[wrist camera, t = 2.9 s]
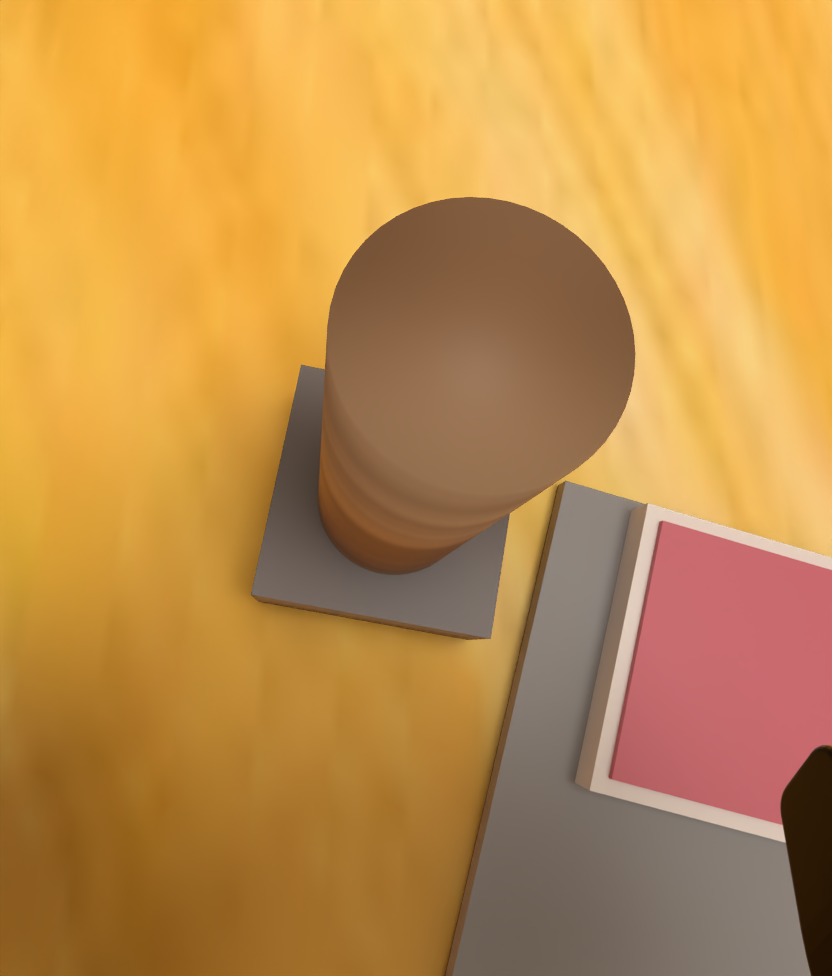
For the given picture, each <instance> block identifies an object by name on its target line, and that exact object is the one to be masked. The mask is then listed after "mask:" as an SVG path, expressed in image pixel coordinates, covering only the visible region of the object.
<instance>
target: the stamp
mask: <svg viewBox="0 0 832 976" xmlns="http://www.w3.org/2000/svg"><path fill="white" fill-rule="evenodd" d="M634 367H635V345H634V334H633V329H632V324H631V320H630V316H629V313H628V310H627V307H626V304H625V301H624V298H623V296H622V294H621V292H620V290H619V288H618V286H617V284H616V282H615V280H614V279H613V277H612V276H611V274H610V273H609V271H608V270H607V268H606V266H605V265H604V264H603V263H602V261H601V260H600V259H599V258H598V257H597V255H596V254H595V253H594V252H593V251H592V250H591V249H590V248H589V247H588V246H587V245H586V244H585V243H584V242H583V241H582V240H581V239H580V238H579V237H578V236H576V235H575V234H574V233H572V232H571V231H570V230H568V229H567V228H566V227H564V226H563V225H561V224H560V223H558V222H556V221H555V220H553V219H551V218H549V217H548V216H546V215H544V214H542V213H539V212H537V211H535V210H532V209H530V208H528V207H525V206H521V205H518V204H515V203H511V202H508V201H502V200H496V199H491V198H476V197H465V198H450V199H445V200H440V201H435V202H431V203H428V204H425V205H422V206H419V207H416V208H413V209H411V210H409V211H407V212H405V213H403V214H400V215H398V216H396V217H395V218H393V219H392V220H390V221H389V222H387V223H386V224H384V225H383V226H381V227H380V228H379V229H378V230H377V231H375V232H374V233H373V234H372V235H371V236H370V237H369V238H367V239H366V240H365V242H364V243H363V244H362V245H361V246H360V247H359V249H358V250H357V251H356V252H355V253H354V255H353V256H352V258H351V259H350V261H349V262H348V264H347V266H346V267H345V269H344V270H343V273H342V275H341V277H340V279H339V281H338V284H337V286H336V288H335V292H334V295H333V299H332V302H331V306H330V312H329V319H328V327H327V345H326V363H325V370H324V369H319V368H314V367H310V366H305V365H301V368H300V373H299V377H298V382H297V386H296V391H295V396H294V400H293V405H292V409H291V414H290V418H289V423H288V428H287V432H286V437H285V441H284V446H283V450H282V455H281V460H280V464H279V469H278V473H277V478H276V482H275V487H274V492H273V496H272V501H271V505H270V510H269V514H268V519H267V524H266V528H265V533H264V537H263V542H262V546H261V551H260V556H259V560H258V565H257V569H256V574H255V578H254V583H253V588H252V592H251V595H252V596H253V597H254V598H255V599H257V600H258V601H259V602H265V603H270V604H275V605H281V606H286V607H292V608H297V609H303V610H308V611H314V612H319V613H325V614H330V615H335V616H341V617H346V618H352V619H357V620H363V621H368V622H374V623H379V624H384V625H390V626H395V627H401V628H406V629H412V630H417V631H423V632H428V633H434V634H439V635H444V636H450V637H455V638H461V639H466V640H472V639H491V633H492V626H493V620H494V613H495V606H496V600H497V593H498V587H499V580H500V574H501V567H502V560H503V554H504V547H505V541H506V534H507V527H508V521H509V514H510V513H511V512H512V511H514V510H515V509H517V508H518V507H520V506H521V505H523V504H524V503H526V502H527V501H529V500H530V499H532V498H533V497H535V496H536V495H538V494H539V493H541V492H542V491H544V490H545V489H547V488H548V487H550V486H551V485H553V484H554V483H556V482H557V481H558V480H560V479H561V478H563V477H564V476H566V475H567V474H569V473H570V472H572V471H573V470H575V469H576V468H578V467H579V466H580V465H581V464H583V463H584V462H585V461H586V460H588V459H589V458H590V457H591V456H592V455H593V454H594V453H595V452H596V451H597V450H598V449H599V448H600V447H601V446H602V445H603V444H604V443H605V441H606V440H607V438H608V437H609V436H610V434H611V433H612V431H613V430H614V428H615V427H616V425H617V423H618V421H619V419H620V417H621V415H622V413H623V411H624V409H625V407H626V404H627V401H628V398H629V395H630V392H631V387H632V382H633V377H634Z"/></svg>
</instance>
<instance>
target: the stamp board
mask: <svg viewBox="0 0 832 976" xmlns="http://www.w3.org/2000/svg"><path fill="white" fill-rule="evenodd" d="M821 745H831V746H832V557H828V556H825V555H821V554H818V553H815V552H811V551H808V550H804V549H801V548H798V547H794V546H791V545H788V544H784V543H781V542H777V541H774V540H771V539H767V538H764V537H760V536H757V535H754V534H750V533H747V532H744V531H740V530H737V529H733V528H730V527H727V526H723V525H720V524H716V523H713V522H710V521H706V520H703V519H700V518H696V517H693V516H689V515H686V514H683V513H679V512H676V511H672V510H669V509H666V508H662V507H659V506H656V505H652V504H649V503H648V504H642V503H639V502H636V501H632V500H629V499H625V498H622V497H619V496H615V495H612V494H609V493H605V492H602V491H598V490H595V489H592V488H588V487H585V486H581V485H578V484H575V483H571V482H568V481H565V482H563V483H562V484H560V485H559V486H558V489H557V494H556V498H555V502H554V507H553V511H552V515H551V520H550V524H549V528H548V533H547V537H546V541H545V546H544V550H543V554H542V559H541V563H540V567H539V572H538V576H537V580H536V585H535V589H534V593H533V598H532V602H531V606H530V611H529V615H528V619H527V624H526V628H525V632H524V637H523V641H522V645H521V650H520V654H519V658H518V663H517V667H516V671H515V675H514V680H513V684H512V688H511V693H510V697H509V701H508V706H507V710H506V714H505V719H504V723H503V727H502V732H501V736H500V740H499V745H498V749H497V753H496V758H495V762H494V766H493V771H492V775H491V779H490V784H489V788H488V792H487V797H486V801H485V805H484V810H483V814H482V818H481V823H480V827H479V831H478V836H477V840H476V844H475V849H474V853H473V857H472V862H471V866H470V870H469V875H468V879H467V883H466V888H465V892H464V896H463V901H462V905H461V909H460V914H459V918H458V922H457V926H456V931H455V935H454V939H453V944H452V948H451V952H450V957H449V961H448V965H447V970H446V974H445V976H811V974H810V970H809V966H808V962H807V958H806V953H805V948H804V943H803V938H802V933H801V928H800V922H799V916H798V910H797V905H796V899H795V893H794V887H793V882H792V876H791V870H790V864H789V859H788V853H787V847H786V841H785V836H784V830H783V824H782V818H781V811H780V803H781V797H782V794H783V791H784V789H785V787H786V786H787V784H788V783H789V782H790V780H791V779H792V778H793V776H794V775H795V774H796V772H797V771H798V770H799V768H800V767H801V766H802V764H803V763H804V762H805V760H806V759H807V758H808V756H809V755H810V753H811V752H812V751H813V750H814V749H815V748H817V747H819V746H821Z"/></svg>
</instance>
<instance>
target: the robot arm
mask: <svg viewBox="0 0 832 976" xmlns="http://www.w3.org/2000/svg"><path fill="white" fill-rule="evenodd" d="M780 811H781V818H782V824H783V830H784V836H785V841H786V847H787V853H788V859H789V864H790V870H791V876H792V882H793V887H794V893H795V899H796V905H797V910H798V916H799V922H800V928H801V933H802V938H803V943H804V948H805V953H806V958H807V962H808V966H809V970H810V974H811V976H832V746H831V745H821V746H819V747H817V748H815V749H814V750H813V751H812V752H811V753H810V755H809V756H808V758H807V759H806V760H805V762H804V763H803V764H802V766H801V767H800V768H799V770H798V771H797V772H796V774H795V775H794V776H793V778H792V779H791V780H790V782H789V783H788V784H787V786H786V787H785V789H784V791H783V794H782V797H781V803H780Z"/></svg>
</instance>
